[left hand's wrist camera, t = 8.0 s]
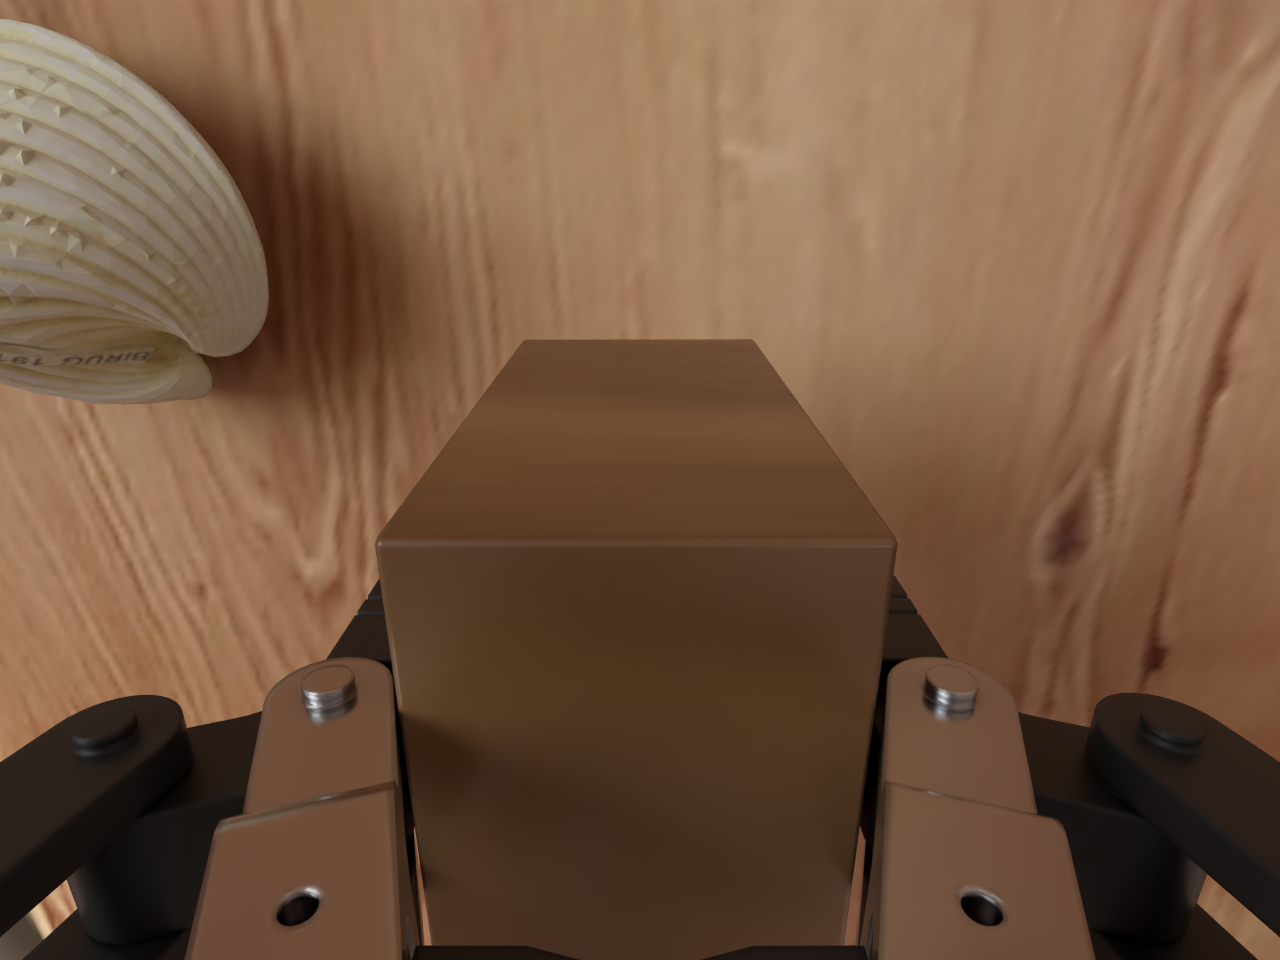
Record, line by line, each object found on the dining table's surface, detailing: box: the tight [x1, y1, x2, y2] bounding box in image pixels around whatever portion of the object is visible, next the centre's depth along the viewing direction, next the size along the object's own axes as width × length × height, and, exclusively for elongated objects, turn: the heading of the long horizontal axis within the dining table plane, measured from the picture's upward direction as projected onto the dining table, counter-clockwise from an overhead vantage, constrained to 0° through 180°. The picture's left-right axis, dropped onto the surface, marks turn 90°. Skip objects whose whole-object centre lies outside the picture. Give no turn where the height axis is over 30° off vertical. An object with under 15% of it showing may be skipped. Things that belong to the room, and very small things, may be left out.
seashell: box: [0, 19, 269, 404], centre depth 18 cm, size 8×8×8 cm
